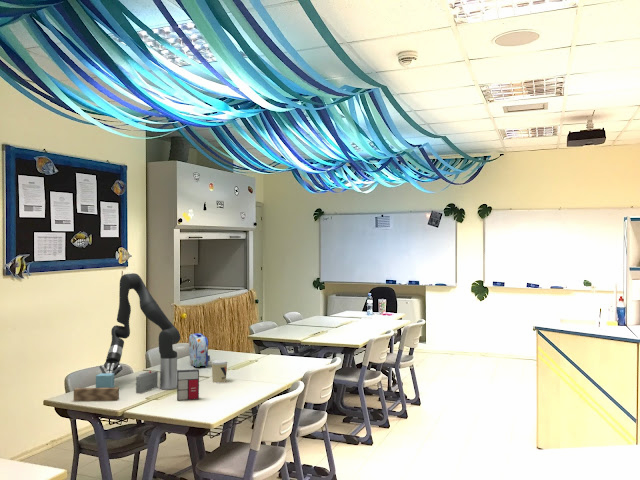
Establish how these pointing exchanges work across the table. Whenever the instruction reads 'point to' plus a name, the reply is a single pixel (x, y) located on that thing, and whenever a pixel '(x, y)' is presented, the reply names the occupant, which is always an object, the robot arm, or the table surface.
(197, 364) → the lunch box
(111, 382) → the sliding block
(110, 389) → the wall
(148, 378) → the cassette player
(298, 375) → the table surface
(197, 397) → the gray and red box
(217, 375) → the coffee cup
